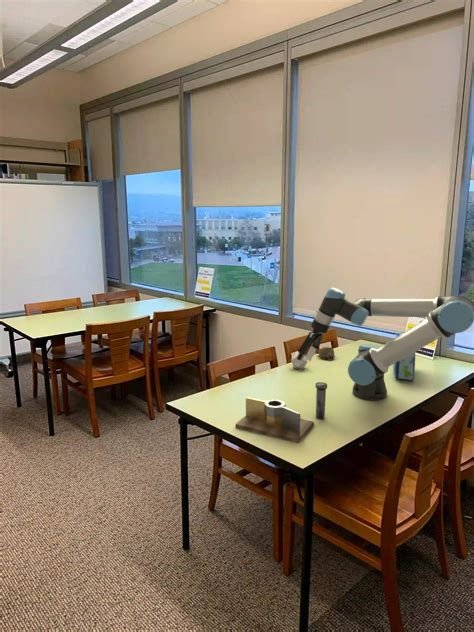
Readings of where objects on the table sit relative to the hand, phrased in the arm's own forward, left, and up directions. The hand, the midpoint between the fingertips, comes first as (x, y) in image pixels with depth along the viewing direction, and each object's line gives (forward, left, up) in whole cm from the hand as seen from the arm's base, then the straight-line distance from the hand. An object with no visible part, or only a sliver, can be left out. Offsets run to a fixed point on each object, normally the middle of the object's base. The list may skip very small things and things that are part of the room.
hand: (302, 362), depth 200 cm
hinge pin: (-15, +19, -15) cm, 29 cm away
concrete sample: (+8, -60, -16) cm, 63 cm away
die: (+15, -35, -16) cm, 41 cm away
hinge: (-2, +35, -14) cm, 38 cm away
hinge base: (-2, +35, -15) cm, 38 cm away
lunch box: (-36, -50, -16) cm, 64 cm away
